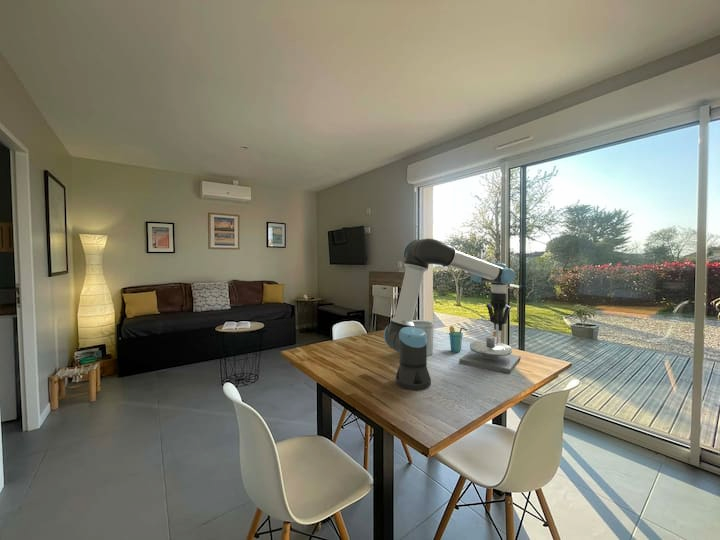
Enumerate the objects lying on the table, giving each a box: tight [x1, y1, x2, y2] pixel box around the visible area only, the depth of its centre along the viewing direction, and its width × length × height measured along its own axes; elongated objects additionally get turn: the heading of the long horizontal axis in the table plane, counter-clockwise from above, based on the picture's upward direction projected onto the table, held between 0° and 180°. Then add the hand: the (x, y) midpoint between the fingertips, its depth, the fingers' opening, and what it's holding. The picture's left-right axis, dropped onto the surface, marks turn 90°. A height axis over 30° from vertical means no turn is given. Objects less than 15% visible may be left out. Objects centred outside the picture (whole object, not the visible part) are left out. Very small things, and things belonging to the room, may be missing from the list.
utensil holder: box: [412, 319, 435, 357], centre depth 174 cm, size 15×15×18 cm
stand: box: [458, 349, 522, 374], centre depth 159 cm, size 24×24×6 cm
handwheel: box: [469, 330, 513, 356], centre depth 158 cm, size 20×20×8 cm
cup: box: [448, 325, 468, 353], centre depth 175 cm, size 14×8×15 cm, turn 30°
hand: (498, 336), depth 162 cm, fingers closed
